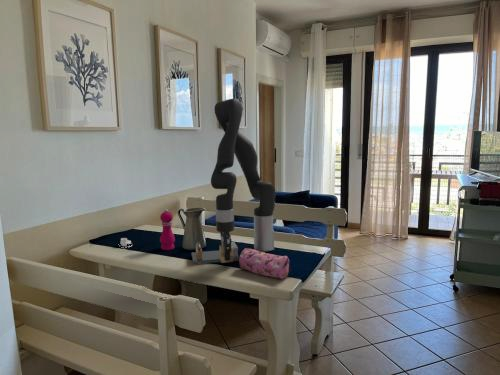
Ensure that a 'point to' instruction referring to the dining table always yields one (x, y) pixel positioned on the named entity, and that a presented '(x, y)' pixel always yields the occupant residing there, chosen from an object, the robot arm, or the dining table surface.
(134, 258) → the dining table surface
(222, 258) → the oak block
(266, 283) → the dining table surface
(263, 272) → the pencil case
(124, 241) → the white looped part
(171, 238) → the pepper mill
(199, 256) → the sliding jaw
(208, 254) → the vise base
